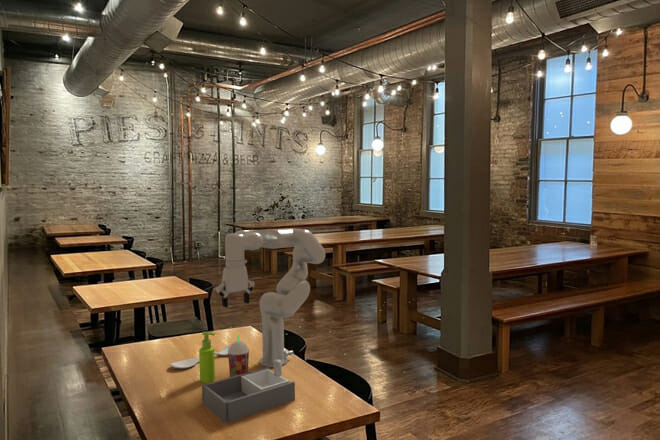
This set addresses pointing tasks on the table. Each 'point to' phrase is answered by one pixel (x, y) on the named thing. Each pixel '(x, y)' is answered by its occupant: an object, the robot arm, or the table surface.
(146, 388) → the table surface
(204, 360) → the soap dispenser
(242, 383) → the drawer
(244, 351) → the smoothie
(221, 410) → the bay
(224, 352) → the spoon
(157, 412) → the table surface
